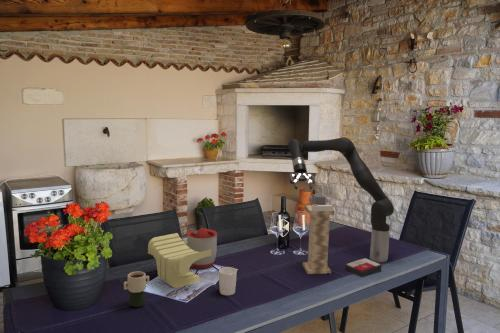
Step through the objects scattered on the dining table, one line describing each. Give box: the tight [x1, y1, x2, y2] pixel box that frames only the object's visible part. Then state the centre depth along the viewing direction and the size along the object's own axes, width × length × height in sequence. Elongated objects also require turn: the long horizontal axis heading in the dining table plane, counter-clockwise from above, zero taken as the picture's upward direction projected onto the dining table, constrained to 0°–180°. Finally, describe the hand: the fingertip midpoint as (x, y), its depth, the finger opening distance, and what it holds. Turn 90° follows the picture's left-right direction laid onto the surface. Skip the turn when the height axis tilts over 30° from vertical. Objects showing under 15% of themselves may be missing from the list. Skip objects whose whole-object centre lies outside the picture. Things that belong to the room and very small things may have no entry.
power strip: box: [311, 204, 334, 211], centre depth 199 cm, size 10×2×3 cm, turn 97°
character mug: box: [123, 270, 150, 308], centre depth 165 cm, size 11×7×13 cm, turn 130°
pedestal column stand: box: [301, 204, 335, 275], centre depth 207 cm, size 12×12×32 cm
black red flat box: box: [344, 257, 382, 278], centre depth 209 cm, size 11×4×15 cm
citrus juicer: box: [186, 226, 218, 269], centre depth 210 cm, size 16×17×20 cm
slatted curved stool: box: [147, 232, 211, 289], centre depth 190 cm, size 30×16×18 cm, turn 40°
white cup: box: [218, 266, 238, 296], centre depth 179 cm, size 8×8×10 cm
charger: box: [308, 193, 327, 205], centre depth 210 cm, size 5×16×6 cm, turn 7°
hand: (303, 188), depth 233 cm, fingers open, 8 cm apart
